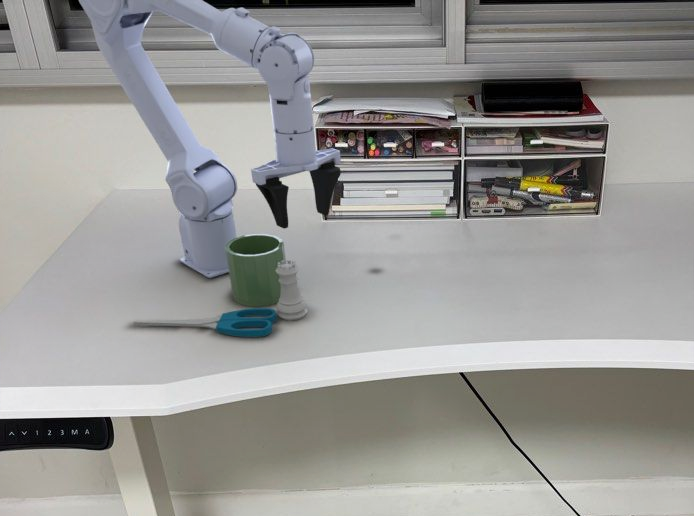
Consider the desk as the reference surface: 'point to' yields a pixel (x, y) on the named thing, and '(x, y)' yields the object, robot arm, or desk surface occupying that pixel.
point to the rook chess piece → (290, 293)
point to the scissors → (229, 322)
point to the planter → (255, 268)
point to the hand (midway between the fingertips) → (303, 219)
